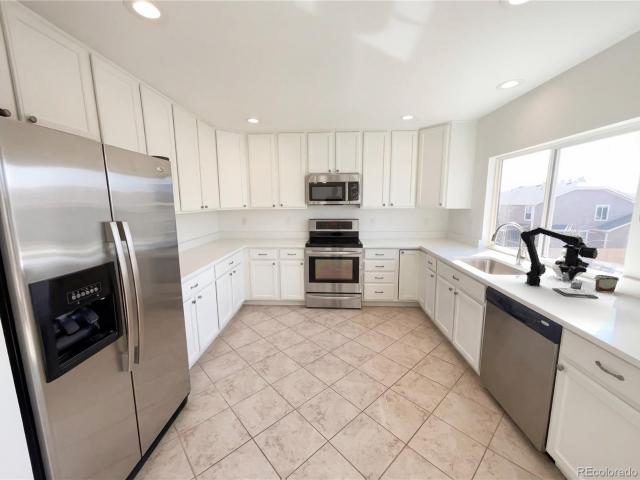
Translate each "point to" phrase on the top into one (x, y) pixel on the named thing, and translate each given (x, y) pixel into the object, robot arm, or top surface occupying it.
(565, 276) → the spacer
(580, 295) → the scale
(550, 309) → the top surface
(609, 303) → the top surface
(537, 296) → the top surface
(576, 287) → the spacer
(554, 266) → the decorative vase
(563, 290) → the scale pan
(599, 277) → the food container
